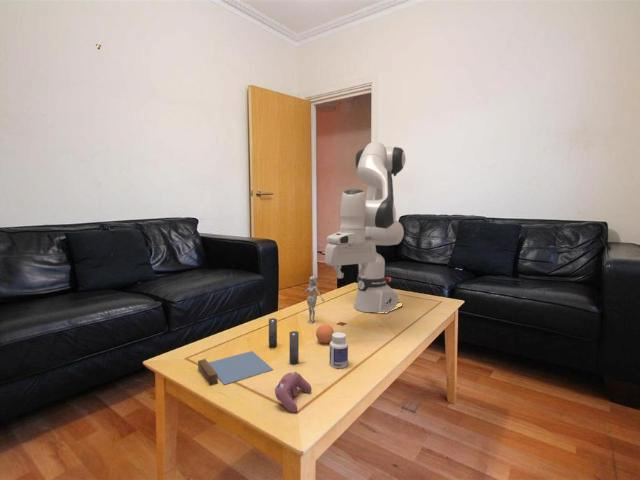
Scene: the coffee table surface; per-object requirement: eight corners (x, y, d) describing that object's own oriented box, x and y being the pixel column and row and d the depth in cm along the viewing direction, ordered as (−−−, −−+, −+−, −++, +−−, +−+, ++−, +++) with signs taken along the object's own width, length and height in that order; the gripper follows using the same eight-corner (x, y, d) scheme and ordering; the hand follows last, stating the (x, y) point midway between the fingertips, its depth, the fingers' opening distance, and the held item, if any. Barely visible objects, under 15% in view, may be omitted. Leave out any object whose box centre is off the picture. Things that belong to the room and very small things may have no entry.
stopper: (205, 367, 97) (205, 358, 96) (217, 383, 89) (217, 373, 88) (198, 369, 95) (198, 360, 95) (209, 385, 87) (209, 376, 87)
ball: (326, 337, 119) (327, 320, 118) (337, 343, 114) (338, 325, 113) (312, 341, 115) (312, 323, 114) (323, 347, 110) (323, 329, 110)
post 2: (295, 359, 102) (295, 330, 101) (300, 363, 100) (300, 333, 99) (287, 362, 100) (287, 332, 99) (292, 365, 98) (292, 335, 97)
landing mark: (252, 351, 107) (252, 350, 107) (273, 370, 96) (273, 369, 96) (206, 363, 99) (206, 362, 99) (224, 385, 87) (224, 384, 87)
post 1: (274, 344, 112) (274, 317, 111) (278, 347, 110) (278, 320, 109) (267, 346, 111) (267, 319, 110) (271, 349, 109) (271, 321, 108)
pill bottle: (351, 364, 99) (352, 335, 98) (339, 370, 96) (339, 340, 95) (337, 358, 103) (338, 329, 102) (325, 364, 99) (326, 334, 98)
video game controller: (299, 394, 87) (287, 368, 87) (314, 390, 85) (302, 364, 85) (280, 417, 78) (268, 388, 78) (297, 413, 76) (284, 383, 76)
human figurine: (297, 319, 136) (297, 274, 134) (304, 317, 138) (304, 273, 136) (320, 327, 128) (320, 279, 126) (326, 324, 130) (327, 278, 128)
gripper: (369, 235, 126) (367, 272, 127) (322, 237, 115) (321, 277, 116) (381, 236, 121) (379, 275, 122) (333, 239, 110) (332, 281, 111)
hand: (351, 276), depth 119 cm, fingers open, 8 cm apart
